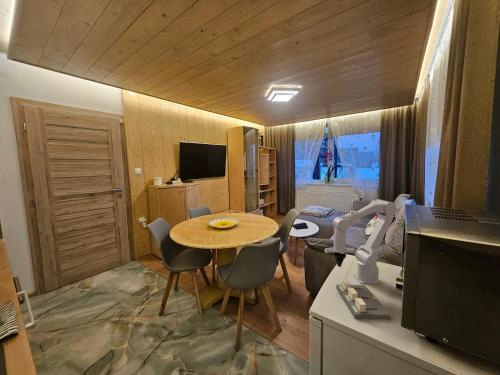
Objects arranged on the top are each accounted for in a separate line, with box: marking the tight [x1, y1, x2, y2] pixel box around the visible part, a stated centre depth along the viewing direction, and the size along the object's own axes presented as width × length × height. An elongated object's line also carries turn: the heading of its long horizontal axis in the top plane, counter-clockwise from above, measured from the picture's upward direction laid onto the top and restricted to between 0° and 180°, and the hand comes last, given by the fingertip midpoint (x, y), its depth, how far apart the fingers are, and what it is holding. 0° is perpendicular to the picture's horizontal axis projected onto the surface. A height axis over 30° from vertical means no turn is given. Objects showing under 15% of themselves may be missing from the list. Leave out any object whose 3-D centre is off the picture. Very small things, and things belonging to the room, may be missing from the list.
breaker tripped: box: [348, 288, 358, 300], centre depth 93 cm, size 2×4×3 cm, turn 178°
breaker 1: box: [341, 278, 352, 290], centre depth 100 cm, size 2×4×3 cm, turn 178°
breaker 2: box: [355, 298, 366, 312], centre depth 86 cm, size 2×4×3 cm, turn 178°
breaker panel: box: [335, 284, 391, 320], centre depth 93 cm, size 14×20×2 cm
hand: (339, 265), depth 107 cm, fingers closed
